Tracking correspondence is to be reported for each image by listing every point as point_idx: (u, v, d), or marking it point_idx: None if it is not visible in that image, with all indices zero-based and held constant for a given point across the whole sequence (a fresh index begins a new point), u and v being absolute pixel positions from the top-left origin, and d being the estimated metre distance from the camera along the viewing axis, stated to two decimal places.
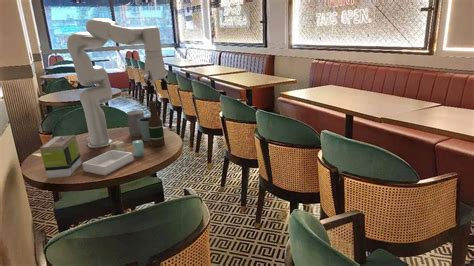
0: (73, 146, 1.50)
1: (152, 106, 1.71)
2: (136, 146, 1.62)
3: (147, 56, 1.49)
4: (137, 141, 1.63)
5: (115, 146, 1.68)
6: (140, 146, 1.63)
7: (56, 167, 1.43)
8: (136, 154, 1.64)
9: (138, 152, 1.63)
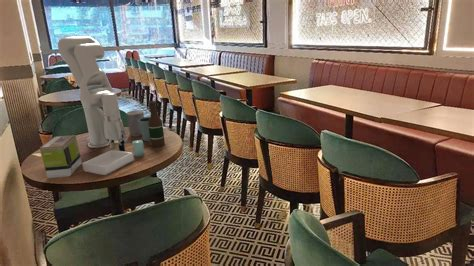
0: (73, 146, 1.50)
1: (152, 106, 1.71)
2: (136, 146, 1.62)
3: (116, 118, 1.64)
4: (137, 141, 1.63)
5: (115, 146, 1.68)
6: (140, 146, 1.63)
7: (56, 167, 1.43)
8: (136, 154, 1.64)
9: (138, 152, 1.63)
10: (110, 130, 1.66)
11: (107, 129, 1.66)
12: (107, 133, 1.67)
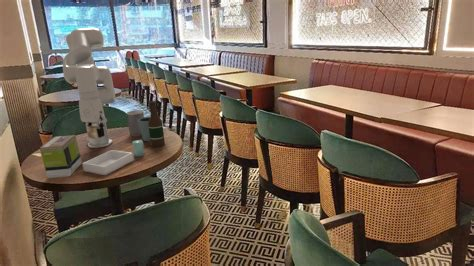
0: (73, 146, 1.50)
1: (152, 106, 1.71)
2: (136, 146, 1.62)
3: (94, 96, 1.39)
4: (137, 141, 1.63)
5: (93, 129, 1.42)
6: (140, 146, 1.63)
7: (56, 167, 1.43)
8: (136, 154, 1.64)
9: (138, 152, 1.63)
10: (86, 111, 1.40)
11: (83, 110, 1.41)
12: (83, 114, 1.41)
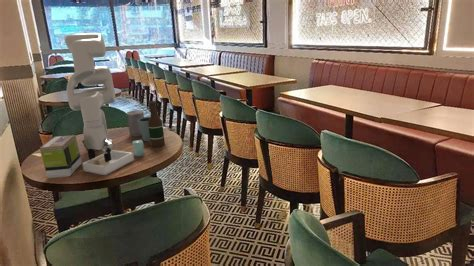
0: (73, 146, 1.50)
1: (152, 106, 1.71)
2: (136, 146, 1.62)
3: (98, 125, 1.41)
4: (137, 141, 1.63)
5: (98, 162, 1.46)
6: (140, 146, 1.63)
7: (56, 167, 1.43)
8: (136, 154, 1.64)
9: (138, 152, 1.63)
10: (90, 138, 1.43)
11: (88, 137, 1.44)
12: (87, 141, 1.44)
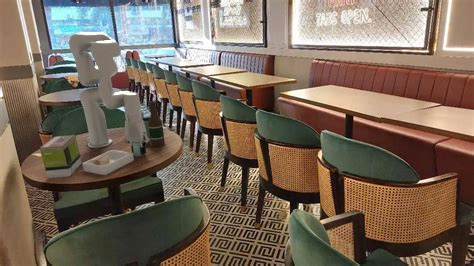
0: (73, 146, 1.50)
1: (152, 106, 1.71)
2: (136, 146, 1.62)
3: (138, 119, 1.58)
4: None
5: (98, 162, 1.46)
6: (140, 146, 1.63)
7: (56, 167, 1.43)
8: (136, 154, 1.64)
9: (138, 152, 1.63)
10: (131, 132, 1.60)
11: (129, 131, 1.60)
12: (128, 134, 1.61)
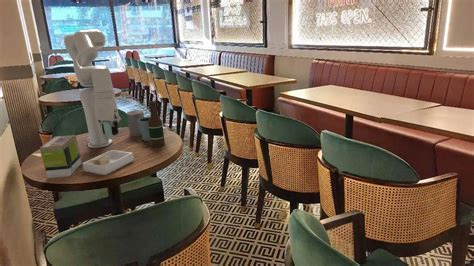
0: (73, 146, 1.50)
1: (152, 106, 1.71)
2: (107, 125, 1.49)
3: (109, 96, 1.45)
4: (108, 121, 1.51)
5: (98, 162, 1.46)
6: (111, 125, 1.50)
7: (56, 167, 1.43)
8: (107, 134, 1.51)
9: (109, 133, 1.50)
10: (101, 110, 1.47)
11: (99, 108, 1.48)
12: (98, 113, 1.49)
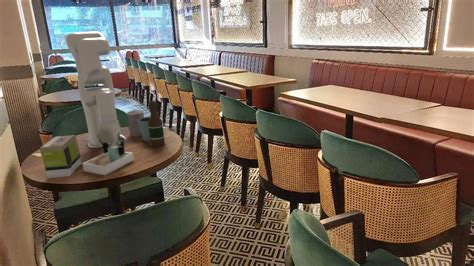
0: (73, 146, 1.50)
1: (152, 106, 1.71)
2: (111, 152, 1.53)
3: (112, 119, 1.49)
4: (113, 147, 1.55)
5: (98, 162, 1.46)
6: (115, 152, 1.54)
7: (56, 167, 1.43)
8: (112, 161, 1.55)
9: (114, 159, 1.54)
10: (105, 132, 1.50)
11: (103, 131, 1.51)
12: (102, 135, 1.52)
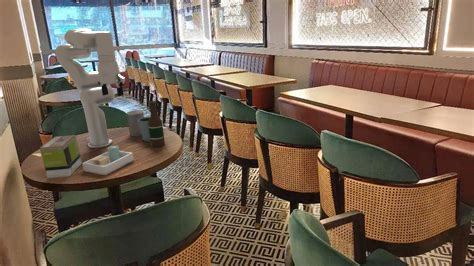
0: (73, 146, 1.50)
1: (152, 106, 1.71)
2: (111, 152, 1.53)
3: (111, 59, 1.52)
4: (112, 147, 1.55)
5: (98, 162, 1.46)
6: (115, 152, 1.54)
7: (56, 167, 1.43)
8: (111, 161, 1.55)
9: (113, 159, 1.54)
10: (104, 73, 1.53)
11: (102, 72, 1.54)
12: (101, 76, 1.55)
